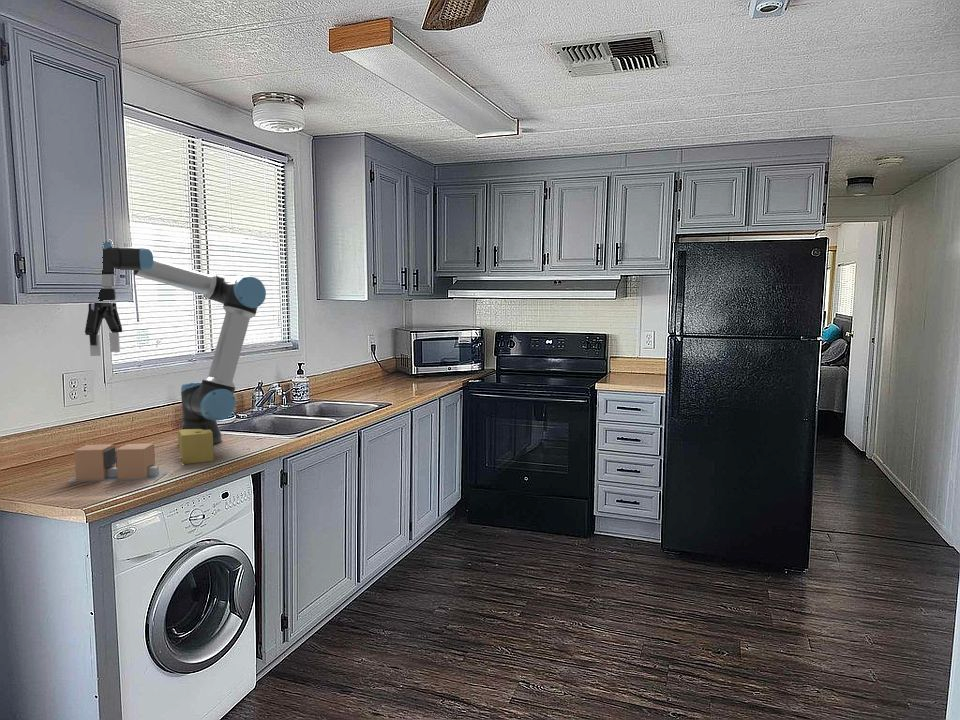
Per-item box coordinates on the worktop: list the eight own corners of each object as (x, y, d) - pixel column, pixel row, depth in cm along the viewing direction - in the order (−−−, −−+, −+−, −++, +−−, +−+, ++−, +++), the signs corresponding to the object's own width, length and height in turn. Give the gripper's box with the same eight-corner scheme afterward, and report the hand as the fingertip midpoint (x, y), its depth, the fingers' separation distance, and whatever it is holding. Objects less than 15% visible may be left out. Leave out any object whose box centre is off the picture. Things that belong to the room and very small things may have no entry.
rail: (84, 475, 210) (83, 464, 210) (167, 473, 212) (166, 462, 211) (66, 484, 200) (66, 473, 200) (154, 482, 202) (153, 471, 201)
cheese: (211, 455, 237) (210, 426, 236) (215, 461, 227) (213, 432, 226) (179, 458, 232) (177, 429, 231) (181, 465, 223) (179, 435, 222)
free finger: (126, 472, 209) (125, 444, 209) (155, 472, 210) (153, 443, 209) (115, 479, 202) (113, 449, 201) (145, 478, 203) (143, 448, 202)
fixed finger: (88, 473, 209) (86, 444, 208) (117, 472, 209) (115, 444, 208) (76, 480, 201) (74, 450, 200) (106, 479, 202) (104, 449, 201)
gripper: (107, 288, 230) (111, 350, 232) (69, 287, 205) (73, 357, 208) (130, 288, 231) (134, 350, 233) (95, 287, 206) (99, 357, 208)
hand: (105, 353), depth 220 cm, fingers open, 13 cm apart
